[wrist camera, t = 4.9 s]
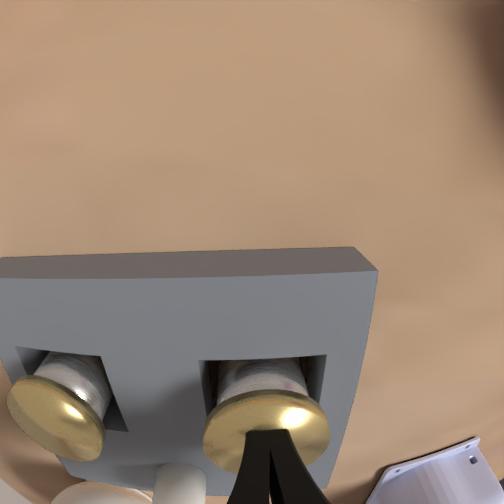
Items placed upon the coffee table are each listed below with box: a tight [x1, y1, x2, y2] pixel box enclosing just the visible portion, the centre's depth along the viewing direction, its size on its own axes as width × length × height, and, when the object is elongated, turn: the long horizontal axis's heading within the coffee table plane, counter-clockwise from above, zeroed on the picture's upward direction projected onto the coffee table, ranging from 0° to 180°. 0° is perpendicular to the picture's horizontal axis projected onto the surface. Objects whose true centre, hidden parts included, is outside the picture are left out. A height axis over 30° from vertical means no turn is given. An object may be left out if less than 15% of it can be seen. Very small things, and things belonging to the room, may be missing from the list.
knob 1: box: [7, 351, 113, 461], centre depth 11 cm, size 4×4×4 cm
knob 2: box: [203, 357, 331, 474], centre depth 12 cm, size 4×4×4 cm
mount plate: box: [0, 247, 378, 496], centre depth 13 cm, size 16×14×2 cm
